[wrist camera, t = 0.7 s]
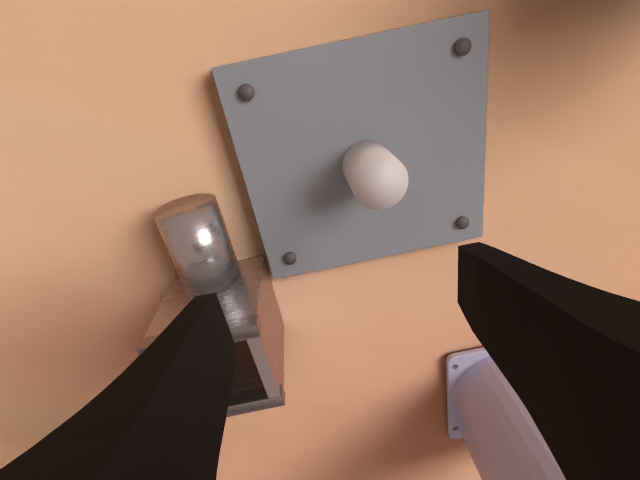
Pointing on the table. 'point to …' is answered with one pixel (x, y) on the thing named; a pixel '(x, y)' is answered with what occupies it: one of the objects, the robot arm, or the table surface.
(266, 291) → the elbow
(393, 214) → the panel
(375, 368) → the table surface
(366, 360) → the table surface
